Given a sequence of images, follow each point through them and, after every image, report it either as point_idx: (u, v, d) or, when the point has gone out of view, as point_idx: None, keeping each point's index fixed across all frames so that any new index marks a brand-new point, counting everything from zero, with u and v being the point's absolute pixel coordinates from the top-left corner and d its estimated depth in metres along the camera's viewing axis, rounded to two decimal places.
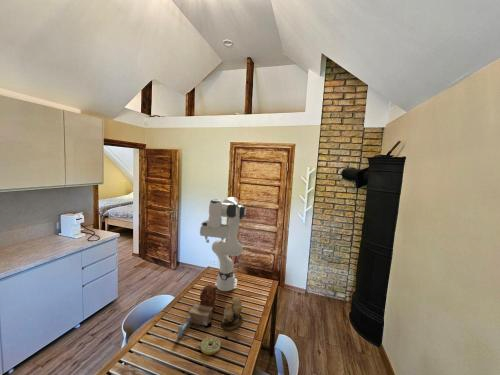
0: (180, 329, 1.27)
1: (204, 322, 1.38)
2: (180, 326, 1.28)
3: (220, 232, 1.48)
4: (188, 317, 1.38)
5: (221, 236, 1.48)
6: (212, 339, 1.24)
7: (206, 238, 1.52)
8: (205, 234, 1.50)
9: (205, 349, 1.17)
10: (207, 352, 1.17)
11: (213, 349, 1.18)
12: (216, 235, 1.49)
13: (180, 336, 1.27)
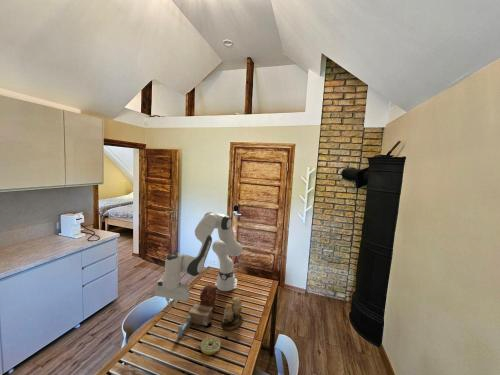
0: (180, 329, 1.27)
1: (204, 322, 1.38)
2: (180, 326, 1.28)
3: (178, 293, 1.25)
4: (188, 317, 1.38)
5: (179, 298, 1.25)
6: (212, 339, 1.24)
7: (167, 300, 1.27)
8: (161, 295, 1.27)
9: (205, 349, 1.17)
10: (207, 352, 1.17)
11: (213, 349, 1.18)
12: (174, 297, 1.25)
13: (180, 336, 1.27)
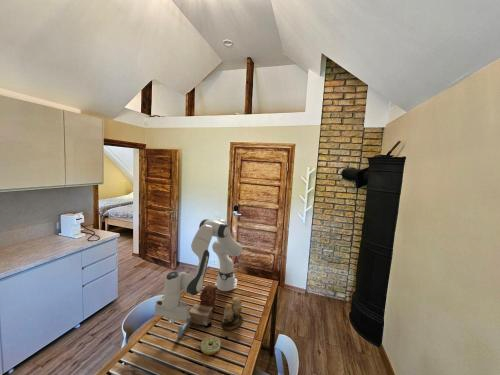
0: (180, 329, 1.27)
1: (204, 322, 1.38)
2: (180, 326, 1.28)
3: (177, 312, 1.25)
4: (188, 317, 1.38)
5: (179, 317, 1.25)
6: (212, 339, 1.24)
7: (168, 319, 1.28)
8: (160, 313, 1.27)
9: (205, 349, 1.17)
10: (207, 352, 1.17)
11: (213, 349, 1.18)
12: (173, 316, 1.26)
13: (180, 336, 1.27)
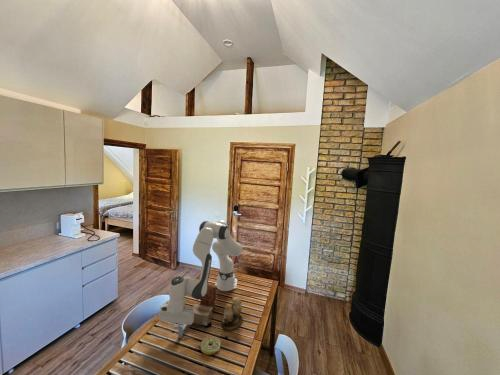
0: (180, 329, 1.27)
1: (204, 322, 1.38)
2: (180, 326, 1.28)
3: (183, 317, 1.26)
4: None
5: (184, 322, 1.26)
6: (212, 339, 1.24)
7: (173, 324, 1.28)
8: (165, 319, 1.27)
9: (205, 349, 1.17)
10: (207, 352, 1.17)
11: (213, 349, 1.18)
12: (178, 321, 1.26)
13: (180, 336, 1.27)
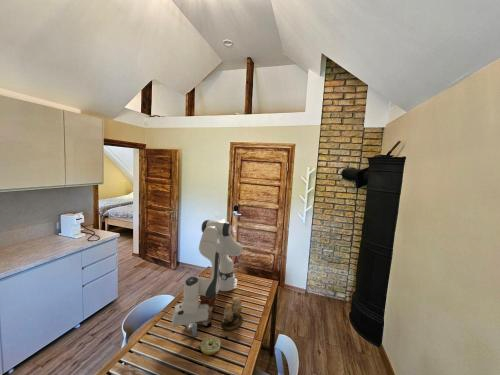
0: (196, 327, 1.29)
1: (204, 322, 1.38)
2: (195, 324, 1.30)
3: (199, 315, 1.28)
4: None
5: (200, 319, 1.29)
6: (212, 339, 1.24)
7: (188, 325, 1.27)
8: (180, 323, 1.24)
9: (205, 349, 1.17)
10: (207, 352, 1.17)
11: (213, 349, 1.18)
12: (194, 320, 1.27)
13: (196, 334, 1.30)
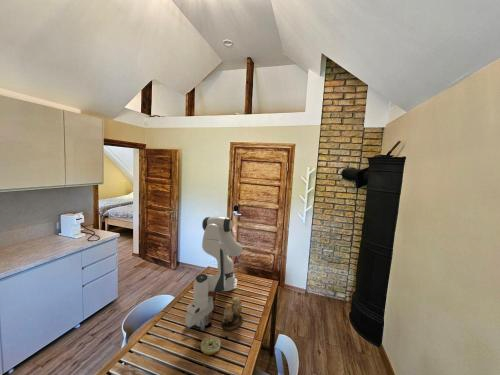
0: (204, 320, 1.35)
1: None
2: None
3: (208, 308, 1.35)
4: None
5: (208, 311, 1.36)
6: (212, 339, 1.24)
7: (199, 322, 1.31)
8: (195, 322, 1.26)
9: (205, 349, 1.18)
10: (207, 352, 1.17)
11: (213, 349, 1.18)
12: (204, 314, 1.33)
13: (204, 327, 1.36)
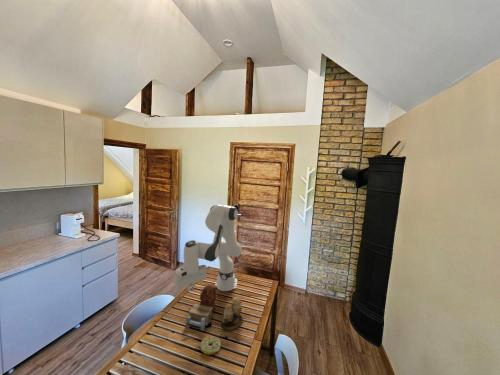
0: (204, 320, 1.35)
1: None
2: (203, 319, 1.35)
3: (199, 275, 1.35)
4: (188, 317, 1.38)
5: (200, 279, 1.36)
6: (212, 339, 1.24)
7: None
8: (183, 285, 1.28)
9: (205, 349, 1.18)
10: (206, 352, 1.17)
11: (212, 349, 1.18)
12: (195, 280, 1.33)
13: (204, 327, 1.36)
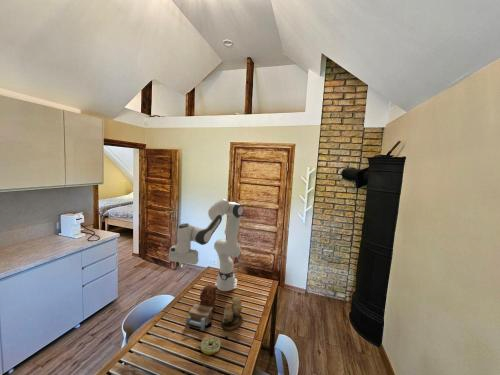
0: (204, 320, 1.35)
1: None
2: (203, 319, 1.35)
3: (188, 258, 1.44)
4: (188, 317, 1.38)
5: (189, 262, 1.44)
6: (212, 339, 1.24)
7: (180, 264, 1.47)
8: (173, 259, 1.47)
9: (204, 349, 1.18)
10: (206, 352, 1.17)
11: (212, 349, 1.18)
12: (184, 261, 1.45)
13: (204, 327, 1.36)
